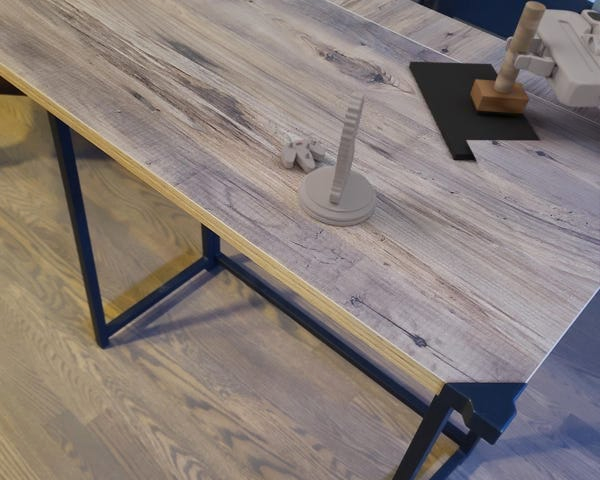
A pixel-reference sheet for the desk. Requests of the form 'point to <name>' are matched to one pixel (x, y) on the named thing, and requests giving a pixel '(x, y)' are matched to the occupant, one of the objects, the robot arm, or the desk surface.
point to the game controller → (302, 153)
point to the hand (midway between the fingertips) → (510, 52)
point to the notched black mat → (465, 106)
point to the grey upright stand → (340, 181)
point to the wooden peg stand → (509, 71)
